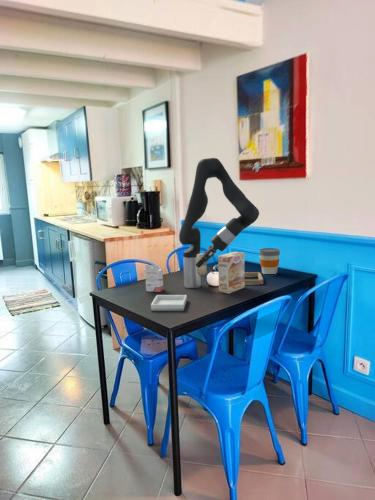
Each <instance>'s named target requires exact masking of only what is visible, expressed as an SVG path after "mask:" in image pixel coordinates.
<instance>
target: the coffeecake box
mask: <svg viewBox="0 0 375 500" xmlns="http://www.w3.org/2000/svg"><path fill="white" fill-rule="evenodd" d="M217 257H218V258H217V261H218V267H217V268H218V292H219V293H225V294H229V295H230V294H231V293H234V292H236V291H239V290H241V289H244V288H245V287H246V285H245V280H246V279H245V278H246V277H245V252H241V251H240V252H239V251H234V252H233V251H232V252H229V253H223V254H221V255H220V254H219V255H218V256H217Z"/></svg>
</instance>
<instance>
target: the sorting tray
mask: <svg viewBox="0 0 375 500" xmlns="http://www.w3.org/2000/svg"><path fill="white" fill-rule="evenodd" d="M187 296H188V295H187V294H156V296H155V297H154V298H153V300H152V302H151V303H150V311H151V312H172V311H173V312H184V311H185V308H186V306H187V305H186V304H187V302H188V298H187Z"/></svg>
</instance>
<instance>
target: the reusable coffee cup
mask: <svg viewBox="0 0 375 500" xmlns="http://www.w3.org/2000/svg"><path fill="white" fill-rule="evenodd" d="M258 255H259V264H260V267H261V274H262V273H263V275H264V274H275V275H277V274H276V273H278V267H279V265H280V255H281V253H280V249H279V248H275V247H274V248H273V247H265V248H261V249H259V254H258Z"/></svg>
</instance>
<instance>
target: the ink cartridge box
mask: <svg viewBox="0 0 375 500" xmlns="http://www.w3.org/2000/svg"><path fill="white" fill-rule="evenodd" d="M144 268H145V269H144V273H145V274H144V275H145V290H146V292H149V293H150V292H153V293H154V292H155V293H161V292H163V291H164V278H163V277H164V276H163V269H160V267H159V265H157V264H156V265H155V264H145V267H144Z"/></svg>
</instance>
